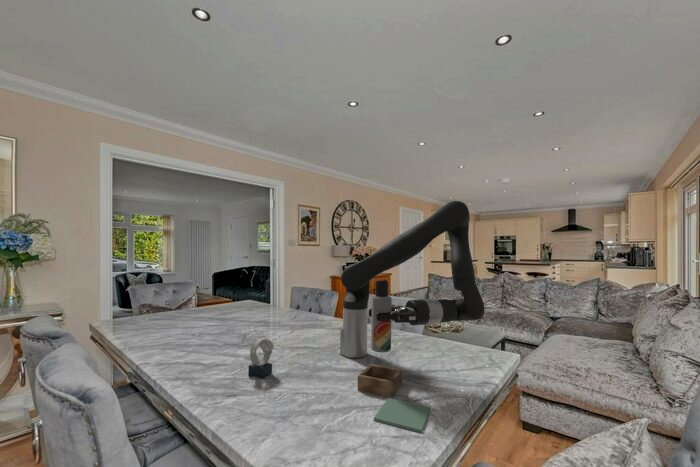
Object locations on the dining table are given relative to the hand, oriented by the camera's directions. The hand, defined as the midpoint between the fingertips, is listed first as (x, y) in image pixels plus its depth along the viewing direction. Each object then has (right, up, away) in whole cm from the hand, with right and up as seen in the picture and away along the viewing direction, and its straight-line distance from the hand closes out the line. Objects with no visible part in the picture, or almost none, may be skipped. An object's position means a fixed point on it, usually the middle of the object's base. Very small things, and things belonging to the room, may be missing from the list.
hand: (373, 314), depth 91 cm
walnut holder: (+2, -21, 0) cm, 21 cm away
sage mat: (+6, -20, -15) cm, 26 cm away
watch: (-34, -20, +7) cm, 41 cm away
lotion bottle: (+2, -10, +1) cm, 11 cm away
